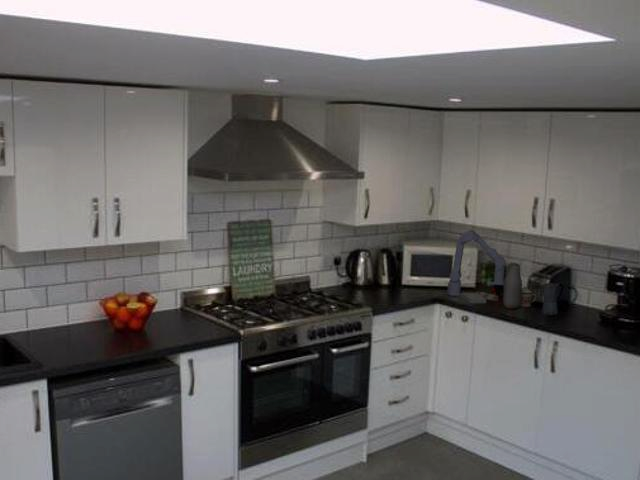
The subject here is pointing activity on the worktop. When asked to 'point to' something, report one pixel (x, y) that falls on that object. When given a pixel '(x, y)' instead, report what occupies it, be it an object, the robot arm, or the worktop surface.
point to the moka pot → (550, 297)
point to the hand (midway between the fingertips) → (497, 296)
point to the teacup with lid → (526, 297)
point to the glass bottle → (512, 286)
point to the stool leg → (488, 296)
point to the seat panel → (473, 297)
